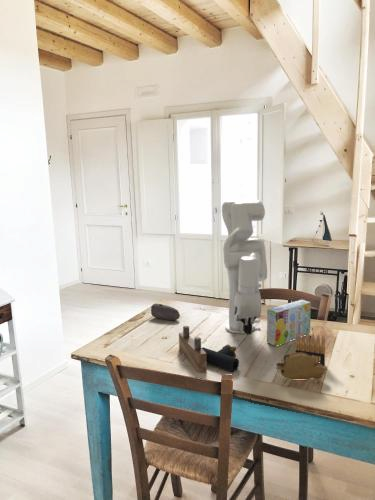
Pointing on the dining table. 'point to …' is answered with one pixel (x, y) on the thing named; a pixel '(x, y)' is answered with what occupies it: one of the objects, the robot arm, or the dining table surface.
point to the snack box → (288, 321)
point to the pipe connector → (223, 358)
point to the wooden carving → (300, 366)
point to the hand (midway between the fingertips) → (247, 332)
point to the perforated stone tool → (164, 312)
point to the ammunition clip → (311, 347)
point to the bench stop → (192, 350)
